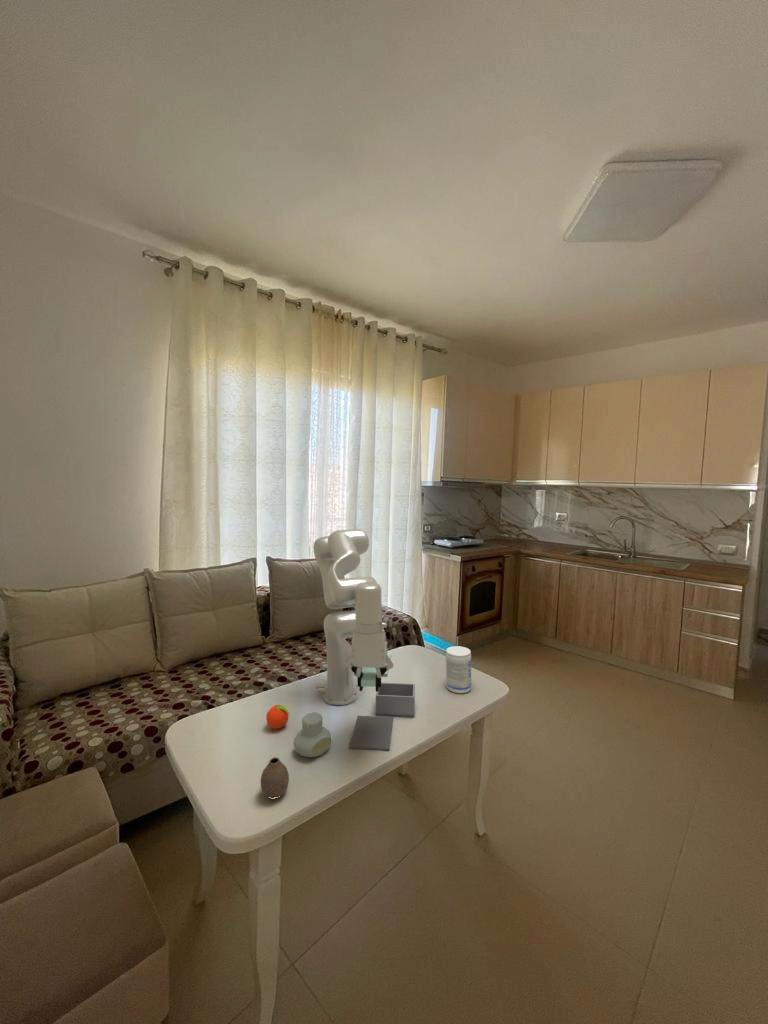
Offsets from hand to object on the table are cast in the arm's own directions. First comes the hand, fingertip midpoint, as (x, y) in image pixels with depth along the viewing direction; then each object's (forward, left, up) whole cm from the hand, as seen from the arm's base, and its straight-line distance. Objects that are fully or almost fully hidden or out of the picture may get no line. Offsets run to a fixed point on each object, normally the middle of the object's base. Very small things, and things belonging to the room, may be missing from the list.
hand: (369, 688), depth 114 cm
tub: (+6, +24, -20) cm, 31 cm away
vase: (-22, -17, -20) cm, 34 cm away
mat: (-1, +10, -20) cm, 22 cm away
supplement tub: (+29, +40, -20) cm, 53 cm away
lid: (0, +7, +2) cm, 7 cm away
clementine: (-31, +10, -20) cm, 38 cm away
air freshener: (-17, 0, -20) cm, 26 cm away
